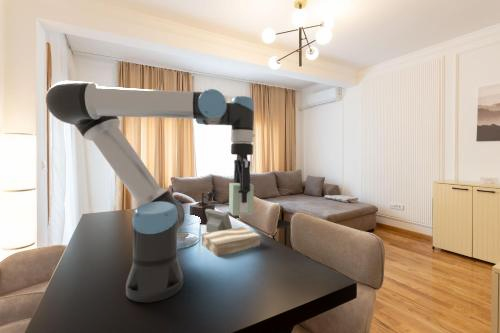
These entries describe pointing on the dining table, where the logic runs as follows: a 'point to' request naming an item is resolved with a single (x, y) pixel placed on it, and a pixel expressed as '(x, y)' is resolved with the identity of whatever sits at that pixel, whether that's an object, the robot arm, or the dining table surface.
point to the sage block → (235, 199)
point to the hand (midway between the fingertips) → (240, 209)
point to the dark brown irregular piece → (202, 207)
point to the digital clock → (217, 221)
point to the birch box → (230, 240)
